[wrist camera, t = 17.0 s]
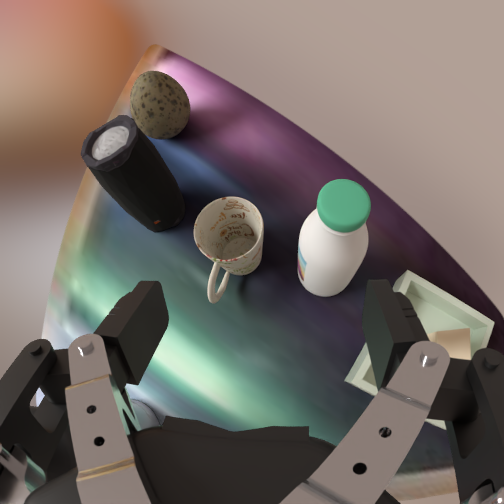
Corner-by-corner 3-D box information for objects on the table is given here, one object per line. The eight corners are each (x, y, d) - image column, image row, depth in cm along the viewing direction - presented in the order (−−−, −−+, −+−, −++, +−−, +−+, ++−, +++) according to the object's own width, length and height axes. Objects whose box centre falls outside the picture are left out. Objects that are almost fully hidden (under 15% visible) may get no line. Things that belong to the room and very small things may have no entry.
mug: (276, 236, 46) (271, 203, 37) (251, 318, 42) (239, 305, 33) (224, 224, 48) (207, 190, 38) (196, 302, 44) (170, 284, 35)
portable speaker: (185, 236, 48) (127, 165, 30) (134, 234, 49) (65, 171, 31) (195, 189, 51) (150, 107, 32) (146, 190, 52) (90, 118, 34)
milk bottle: (360, 264, 43) (403, 192, 24) (331, 308, 41) (362, 262, 23) (317, 235, 45) (329, 149, 27) (286, 277, 44) (280, 210, 25)
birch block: (435, 368, 35) (470, 367, 26) (406, 371, 36) (437, 372, 26) (434, 337, 37) (469, 327, 27) (406, 339, 37) (437, 331, 28)
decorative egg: (205, 112, 57) (184, 54, 43) (185, 153, 54) (157, 94, 40) (159, 111, 59) (134, 59, 45) (138, 150, 56) (104, 98, 42)
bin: (433, 425, 33) (448, 430, 28) (344, 380, 38) (350, 382, 33) (477, 327, 37) (494, 322, 32) (396, 280, 41) (407, 269, 37)
